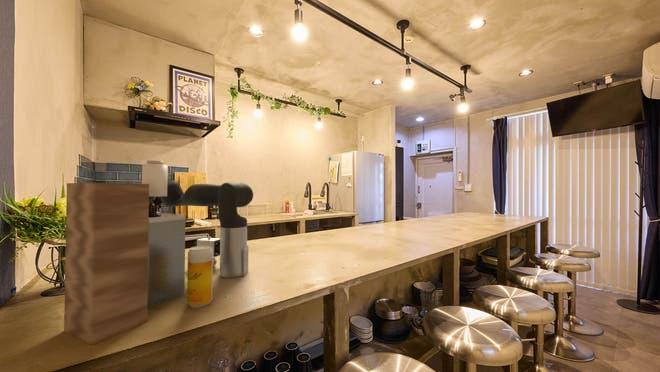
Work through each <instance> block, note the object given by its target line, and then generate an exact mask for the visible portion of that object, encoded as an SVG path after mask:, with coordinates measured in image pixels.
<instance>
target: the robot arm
mask: <svg viewBox="0 0 660 372" xmlns="http://www.w3.org/2000/svg"><path fill="white" fill-rule="evenodd" d="M128 183H129V184H134V183H133V182H128ZM156 197H157V196H149V204H150V203H152V201H153V199H155V198H156ZM158 197H159V199H160V200H161V203H162V204H163V205H164V206H165V207H169V208H173V207H186V206H187V207H188V206H190V207H192V206H193V207H214V206H217V214H218V220H219V225H220V227H219V230H220V231H219V239H220V255H219V276H220V277H221V278H228V279H229V278H237V277H243V276H244V277H245V276H246V274H247V273H248V271H249V245H248V219H247V218H246V217H245V216H243V215H242V216H241V215H240V214H239V213H238V208H244V207H247V206H248V205H249V204H250V203H251V202H252V201H253V199H254V192H253V189H252V188H251V186H249V185H248V184H246V183H244V182H224V183H222V184H221V185H220V184H215V183H214V184H212V183H211V184H210V183H195V184H192V185H190V186H189V187H187V188H186V190H185V191H184V190H183V189H182V186H181V184H180V183H179V181H178V180H175V179H174V180H167V196H158Z"/></svg>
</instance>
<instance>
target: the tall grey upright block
mask: <svg viewBox="0 0 660 372" xmlns="http://www.w3.org/2000/svg"><path fill="white" fill-rule="evenodd" d="M185 264H186V214H180V213H179V214H177V213H160V216H156V217H149V228H148V299H147V309H150V308H153V307H155V306H158V305H160V304H162V303H165V302H168V301H170V300H172V299H175V298H178V297H180V296H183V295H185V289H186V288H185V285H186V284H185V280H186V278H185V277H186V276H185V274H186V273H185V271H186V269H185V268H186V265H185ZM167 300H168V301H167Z"/></svg>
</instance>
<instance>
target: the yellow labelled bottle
mask: <svg viewBox="0 0 660 372" xmlns="http://www.w3.org/2000/svg"><path fill="white" fill-rule="evenodd" d="M213 274H214V266H213V250H212V248H211V246H195V247H193V246H192V247H190V248H189V249H188V252H187V279H186V280H187V282H186V284H187V285H186V287H187V289H186V290H187V293H186V299H187V302H186V303H187V305H188V306H189V307H190V308H195V309H196V308H203V307H205V306H208V305H209V304H210V303H211V302H212V300H213V295H214V294H213V293H214V292H213V289H214V286H213V284H214V281H213V279H214V277H213Z"/></svg>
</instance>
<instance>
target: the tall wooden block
mask: <svg viewBox="0 0 660 372" xmlns="http://www.w3.org/2000/svg"><path fill="white" fill-rule="evenodd" d="M129 183H130V182H127V183H122V182H121V183H119V182H118V183H117V182H114V183H113V182H67V183H66V205H65V206H66V209H65V211H66V213H65V214H66V215H65V220H66V221H65V260H64V261H65V262H64V263H65V265H64V266H65V267H64V270H65V271H64V311H63V312H64V313H63V314H64V315H63V319H64V320H63V325H64V326H63V331H64V332H66V333H68V334H69V335H72V336H73V337H75V338H77V339H80V340H81V341H83V342H85V343H87V344H90V345H91V346H94V345H96V344H99V343H101V342H103V341H106V340H108V339H110V338H112V337H114V336H117V335H121V334H122V333H124V332H127V331H129V330H131V329H133V328H135V327H138V326H140V325H142V324H144V323H146V322H148V308H147V299H148V228H149V218H150V217H149V214H150V213H149V212H150V208H149V207H150V203H149V184H142V183H133V184H129Z"/></svg>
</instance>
